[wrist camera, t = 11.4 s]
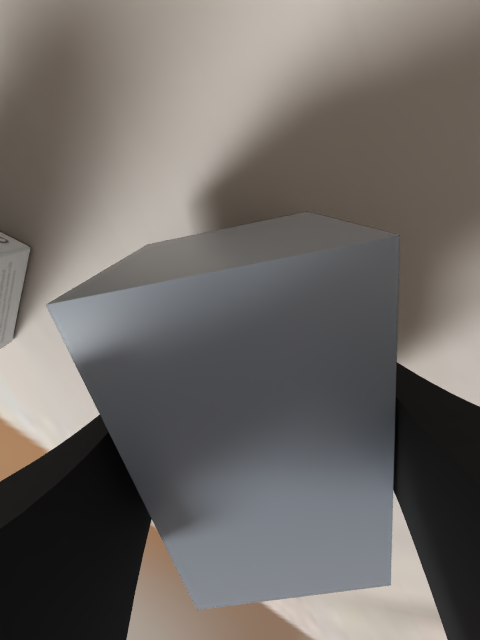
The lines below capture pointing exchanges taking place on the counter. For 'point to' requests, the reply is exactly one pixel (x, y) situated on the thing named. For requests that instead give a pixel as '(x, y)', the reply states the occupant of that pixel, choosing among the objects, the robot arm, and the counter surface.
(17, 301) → the skincare box
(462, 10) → the counter surface
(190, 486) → the tall gray prism
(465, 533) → the robot arm
